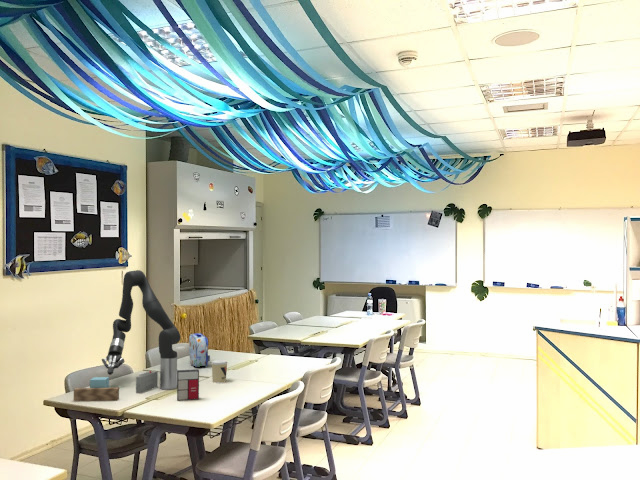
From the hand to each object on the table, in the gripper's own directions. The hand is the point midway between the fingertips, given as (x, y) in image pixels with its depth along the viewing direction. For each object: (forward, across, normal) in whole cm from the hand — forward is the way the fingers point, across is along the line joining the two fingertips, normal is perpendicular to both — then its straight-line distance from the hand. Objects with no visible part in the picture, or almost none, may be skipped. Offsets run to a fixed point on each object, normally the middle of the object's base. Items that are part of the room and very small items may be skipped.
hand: (109, 373), depth 305 cm
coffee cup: (-5, +59, +18) cm, 62 cm away
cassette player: (+8, +21, +6) cm, 23 cm away
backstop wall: (+15, 0, -2) cm, 15 cm away
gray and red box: (+23, +47, -9) cm, 53 cm away
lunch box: (-39, +40, +52) cm, 76 cm away
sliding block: (+17, 0, -6) cm, 18 cm away
